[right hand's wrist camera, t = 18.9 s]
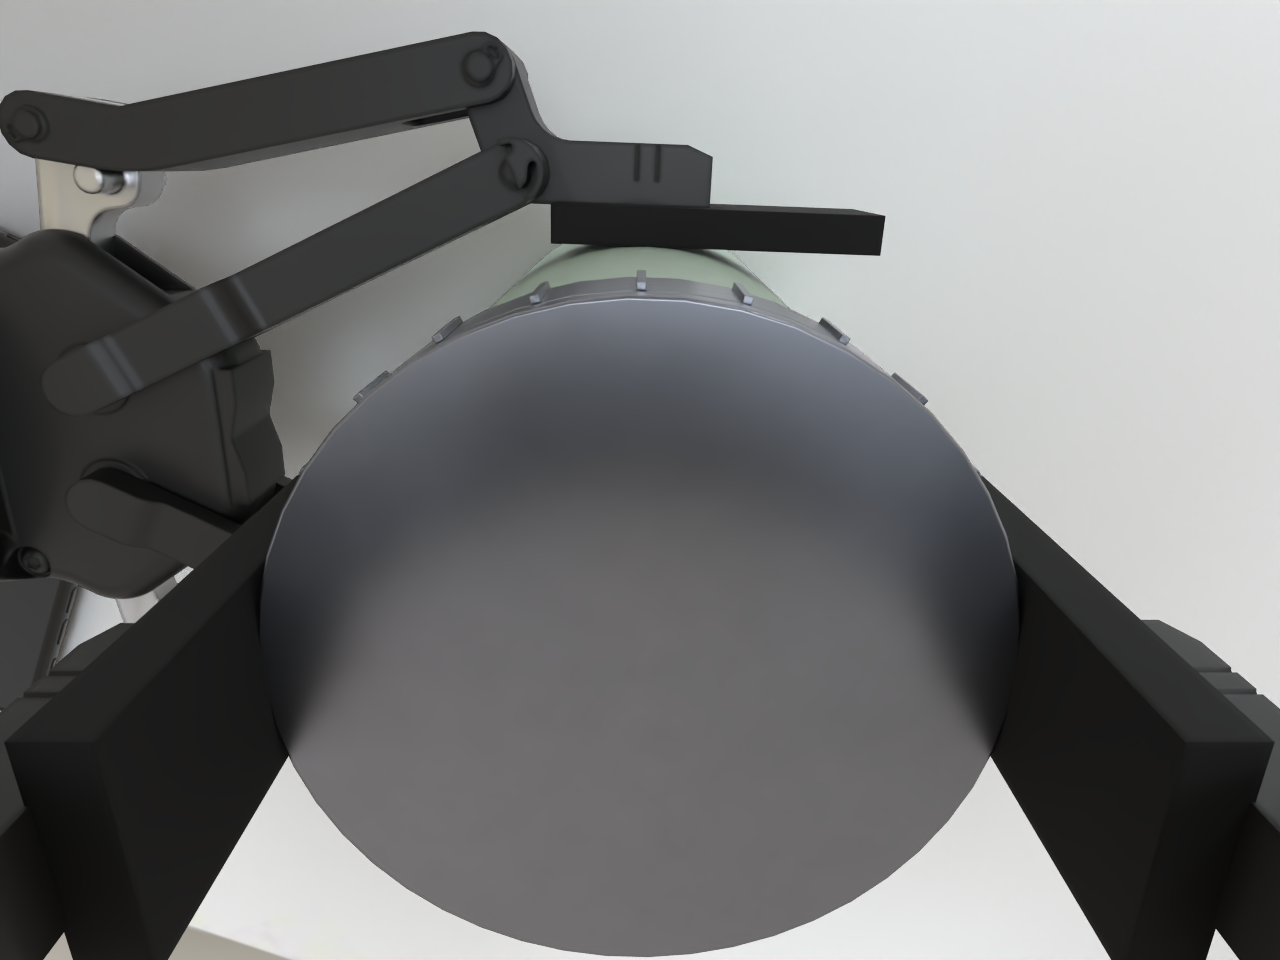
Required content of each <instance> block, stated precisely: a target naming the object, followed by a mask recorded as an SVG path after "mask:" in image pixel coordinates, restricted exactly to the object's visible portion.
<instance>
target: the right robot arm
mask: <svg viewBox="0 0 1280 960" xmlns="http://www.w3.org/2000/svg"><path fill="white" fill-rule="evenodd" d="M299 476H300V475H297V476H296V477H295V478H294V479H293V480H292V481H291V482H289V483H288V484H287V485H286V486H285V487H284V488H283V489H282V490H281V491H280V492H278V493H277V494H276V495H275V496H274V497H273V498H272V499H271V500H270V501H269V502H267V503H266V504H265V505H264V506H263V507H262V508H261V509H260V510H259V511H258V512H256V513H255V514H254V515H253V516H252V517H251V518H250V519H249V520H248V521H247V522H245V523H244V524H243V525H242V526H241V527H240V528H239V529H238V530H237V531H236V532H234V533H233V534H232V535H231V536H230V537H229V538H228V539H227V540H226V541H225V542H223V543H222V544H221V545H220V546H219V547H218V548H217V549H216V550H215V551H214V552H212V553H211V554H210V555H209V556H208V557H207V558H206V559H205V560H204V561H203V562H201V563H200V564H199V565H198V566H197V567H196V568H195V569H194V570H193V571H192V572H190V573H189V574H188V575H187V576H186V577H185V578H184V579H183V580H182V581H181V582H179V583H178V584H177V585H176V586H175V587H174V588H173V589H172V590H171V591H170V592H168V593H167V594H166V595H165V596H164V597H163V598H162V599H161V600H160V601H159V602H157V603H156V604H155V605H154V606H153V607H152V608H151V609H150V610H149V611H148V612H146V613H145V614H144V615H143V616H142V617H141V618H140V619H139V620H138V621H137V622H135V623H120V624H118V625H116V626H114V627H112V628H110V629H108V630H106V631H105V632H103V633H101V634H99V635H97V636H95V637H93V638H91V639H89V640H87V641H85V642H83V643H82V644H80V645H78V646H77V647H76V648H75V649H73V650H72V651H71V652H70V653H69V654H68V655H66V656H65V657H64V658H63V659H62V660H61V661H59V662H58V663H57V664H56V665H55V666H54V667H52V668H51V669H50V670H49V674H48V676H42V677H41V678H40V679H38V680H37V681H36V682H35V683H34V684H33V685H31V686H30V687H29V688H28V689H27V690H26V691H24V692H23V693H24V695H23V698H16V699H15V700H14V701H13V702H12V703H10V704H9V705H8V706H7V707H6V708H5V709H3V710H2V711H1V712H0V960H43V959H44V958H45V957H46V955H47V954H48V953H49V951H50V950H51V949H52V947H53V946H54V945H55V943H56V942H57V941H58V939H59V938H60V937H61V935H62V934H63V933H65V936H66V939H67V942H68V945H69V949H70V952H71V955H72V958H73V960H168V958H169V957H170V955H171V953H172V952H173V950H174V948H175V947H176V945H177V943H178V942H179V940H180V938H181V937H182V935H183V933H184V931H185V930H186V928H187V926H188V925H189V923H190V921H191V920H192V918H193V916H194V915H195V913H196V911H197V910H198V908H199V906H200V904H201V903H202V901H203V899H204V898H205V896H206V894H207V893H208V891H209V889H210V888H211V886H212V884H213V883H214V881H215V879H216V877H217V876H218V874H219V872H220V871H221V869H222V867H223V866H224V864H225V862H226V861H227V859H228V857H229V856H230V854H231V852H232V850H233V849H234V847H235V845H236V844H237V842H238V840H239V839H240V837H241V835H242V834H243V832H244V830H245V829H246V827H247V825H248V823H249V822H250V820H251V818H252V817H253V815H254V813H255V812H256V810H257V808H258V807H259V805H260V803H261V802H262V800H263V798H264V796H265V795H266V793H267V791H268V790H269V788H270V786H271V785H272V783H273V781H274V780H275V778H276V776H277V775H278V773H279V771H280V769H281V768H282V766H283V764H284V763H285V761H286V759H287V758H288V756H289V755H288V753H287V751H286V749H285V746H284V744H283V742H282V740H281V737H280V735H279V733H278V731H277V729H276V726H275V722H274V719H273V714H272V709H271V704H270V699H269V694H268V689H267V683H266V677H265V672H264V666H263V661H262V655H261V649H260V643H259V596H260V591H261V585H262V579H263V573H264V567H265V561H266V556H267V552H268V549H269V546H270V543H271V540H272V537H273V534H274V531H275V528H276V525H277V523H278V520H279V517H280V514H281V511H282V509H283V507H284V505H285V503H286V501H287V499H288V497H289V495H290V493H291V492H292V490H293V488H294V486H295V484H296V482H297V480H298V478H299ZM981 476H982V475H981ZM980 479H981V480H982V482H983V484H984V485H985V487H986V489H987V490H988V492H989V494H990V496H991V499H992V501H993V503H994V506H995V508H996V511H997V513H998V516H999V518H1000V520H1001V523H1002V525H1003V528H1004V530H1005V533H1006V535H1007V538H1008V543H1009V547H1010V551H1011V555H1012V559H1013V564H1014V568H1015V572H1016V576H1017V580H1018V592H1019V605H1020V618H1021V634H1020V641H1019V647H1018V653H1017V660H1016V665H1015V671H1014V676H1013V682H1012V687H1011V693H1010V698H1009V704H1008V709H1007V714H1006V718H1005V721H1004V724H1003V726H1002V729H1001V732H1000V734H999V737H998V739H997V742H996V745H995V747H994V750H993V752H992V754H991V755H990V756H991V758H992V759H993V761H994V763H995V764H996V766H997V768H998V769H999V771H1000V773H1001V774H1002V776H1003V778H1004V779H1005V781H1006V783H1007V785H1008V786H1009V788H1010V790H1011V791H1012V793H1013V795H1014V796H1015V798H1016V800H1017V801H1018V803H1019V805H1020V807H1021V808H1022V810H1023V812H1024V813H1025V815H1026V817H1027V818H1028V820H1029V822H1030V823H1031V825H1032V827H1033V828H1034V830H1035V832H1036V834H1037V835H1038V837H1039V839H1040V840H1041V842H1042V844H1043V845H1044V847H1045V849H1046V850H1047V852H1048V854H1049V855H1050V857H1051V859H1052V861H1053V862H1054V864H1055V866H1056V867H1057V869H1058V871H1059V872H1060V874H1061V876H1062V877H1063V879H1064V881H1065V882H1066V884H1067V886H1068V888H1069V889H1070V891H1071V893H1072V894H1073V896H1074V898H1075V899H1076V901H1077V903H1078V904H1079V906H1080V908H1081V909H1082V911H1083V913H1084V915H1085V916H1086V918H1087V920H1088V921H1089V923H1090V925H1091V926H1092V928H1093V930H1094V931H1095V933H1096V935H1097V936H1098V938H1099V940H1100V942H1101V943H1102V945H1103V947H1104V948H1105V950H1106V952H1107V953H1108V955H1109V957H1110V958H1111V960H1206V958H1207V954H1208V951H1209V948H1210V945H1211V942H1212V939H1213V936H1214V932H1215V929H1217V931H1218V932H1219V933H1220V935H1221V936H1222V937H1223V939H1224V940H1225V941H1226V943H1227V944H1228V945H1229V947H1230V948H1231V949H1232V951H1233V952H1234V953H1235V955H1236V956H1237V957H1238V958H1239V960H1280V709H1279V708H1278V707H1277V706H1276V705H1275V704H1273V703H1272V702H1271V701H1270V700H1269V699H1267V698H1266V697H1265V696H1264V695H1257V693H1256V688H1255V687H1253V686H1252V685H1251V684H1250V683H1249V682H1248V681H1246V680H1245V679H1244V678H1243V677H1242V676H1240V675H1239V674H1238V673H1232V672H1231V667H1230V666H1229V665H1228V664H1226V663H1225V662H1224V661H1223V660H1222V659H1220V658H1219V657H1218V656H1217V655H1216V654H1215V653H1213V652H1212V651H1211V650H1210V649H1209V648H1208V647H1206V646H1205V645H1204V644H1203V643H1202V642H1200V641H1198V640H1196V639H1194V638H1193V637H1191V636H1189V635H1187V634H1185V633H1183V632H1181V631H1179V630H1177V629H1175V628H1173V627H1171V626H1169V625H1167V624H1165V623H1164V622H1162V621H1160V620H1140V619H1139V618H1138V617H1137V616H1136V615H1135V614H1134V613H1133V612H1131V611H1130V610H1129V609H1128V608H1127V607H1126V606H1125V605H1124V604H1123V603H1122V602H1120V601H1119V600H1118V599H1117V598H1116V597H1115V596H1114V595H1113V594H1112V593H1111V592H1109V591H1108V590H1107V589H1106V588H1105V587H1104V586H1103V585H1102V584H1101V583H1100V582H1098V581H1097V580H1096V579H1095V578H1094V577H1093V576H1092V575H1091V574H1090V573H1089V572H1087V571H1086V570H1085V569H1084V568H1083V567H1082V566H1081V565H1080V564H1079V563H1078V562H1076V561H1075V560H1074V559H1073V558H1072V557H1071V556H1070V555H1069V554H1068V553H1067V552H1065V551H1064V550H1063V549H1062V548H1061V547H1060V546H1059V545H1058V544H1057V543H1056V542H1054V541H1053V540H1052V539H1051V538H1050V537H1049V536H1048V535H1047V534H1046V533H1045V532H1043V531H1042V530H1041V529H1040V528H1039V527H1038V526H1037V525H1036V524H1035V523H1034V522H1032V521H1031V520H1030V519H1029V518H1028V517H1027V516H1026V515H1025V514H1024V513H1023V512H1021V511H1020V510H1019V509H1018V508H1017V507H1016V506H1015V505H1014V504H1013V503H1012V502H1010V501H1009V500H1008V499H1007V498H1006V497H1005V496H1004V495H1003V494H1002V493H1001V492H999V491H998V490H997V489H996V488H995V487H994V486H993V485H992V484H991V483H990V482H989V481H987V480H986V479H985V478H984V477H983V476H982V477H981V478H980Z"/></svg>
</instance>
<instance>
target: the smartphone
mask: <svg viewBox="0 0 1280 960" xmlns="http://www.w3.org/2000/svg"><path fill="white" fill-rule="evenodd" d="M19 240H20V238H17V237H15V236H13V235H11V234H8V233H6V232H4V231H2V230H0V248H5V247H8V246H10V245H12V244H14V243H16V242H17V241H19ZM77 590H78V585H76V584H74V583H71V582H68V581H65V580H60V579H56V578H35V579H24V580H15V581H5V582H0V711H2V710H3V709H5V708H6V707H7V706H8V705H9V704H10V703H12V702H13V701H14V700H15V699H16V698H23V695H24V693H23V692H24V691H26V690H27V689H28V688H29V687H30V686H31V685H33V684H34V683H35V682H36V681H37V680H38V679H40V678H41V677H42V676H48V674H49V670H50V669H51V668H52V667H54V666H55V664H56V660H57V657H58V653H59V650H60V646H61V643H62V641H63V638H64V635H65V631H66V628H67V624H68V621H69V620H68V618H69V615H70V611H71V610H72V607H73V603H74V600H75V597H76V593H77Z"/></svg>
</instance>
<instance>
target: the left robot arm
mask: <svg viewBox="0 0 1280 960" xmlns="http://www.w3.org/2000/svg"><path fill="white" fill-rule="evenodd" d="M465 118H469V119H470V122H471V124H472V127H473V130H474V133H475V135H476V138H477V141H478V144H479V146H480V149H481V152H479V153H477V154H475V155H473V156H471V157H469V158H467V159H465V160H463V161H461V162H459V163H457V164H455V165H453V166H451V167H449V168H447V169H445V170H443V171H441V172H439V173H437V174H435V175H433V176H431V177H429V178H427V179H425V180H423V181H421V182H419V183H417V184H415V185H413V186H411V187H409V188H407V189H405V190H403V191H401V192H399V193H397V194H395V195H393V196H391V197H389V198H387V199H385V200H383V201H381V202H379V203H377V204H375V205H373V206H371V207H369V208H367V209H365V210H363V211H361V212H359V213H357V214H355V215H353V216H351V217H349V218H347V219H345V220H343V221H341V222H339V223H337V224H334V225H332V226H330V227H328V228H326V229H324V230H322V231H320V232H318V233H316V234H314V235H312V236H310V237H308V238H306V239H304V240H302V241H300V242H298V243H296V244H294V245H292V246H290V247H288V248H286V249H284V250H282V251H280V252H278V253H276V254H274V255H272V256H270V257H268V258H266V259H264V260H262V261H260V262H258V263H256V264H254V265H252V266H250V267H248V268H246V269H244V270H242V271H240V272H238V273H236V274H234V275H232V276H230V277H227V278H225V279H222V280H220V281H217V282H215V283H212V284H210V285H208V286H206V287H203V288H201V289H199V290H196V289H195V288H193V287H192V286H190V285H189V284H188V283H186V282H185V281H183V280H182V279H180V278H179V277H177V276H176V275H175V274H173V273H172V272H170V271H169V270H167V269H166V268H164V267H163V266H162V265H160V264H159V263H157V262H156V261H154V260H153V259H152V258H150V257H149V256H147V255H146V254H144V253H143V252H141V251H140V250H139V249H137V248H136V247H134V246H133V245H131V244H130V243H129V242H127V241H126V240H124V239H123V238H121V237H120V236H118V235H116V234H115V224H116V222H117V219H118V217H119V216H120V215H121V214H122V213H123V212H124V211H125V210H127V209H129V208H132V207H141V206H148V205H150V204H152V203H154V202H155V201H156V200H157V199H158V198H159V197H160V195H161V192H162V190H163V187H164V186H165V184H166V175H165V172H164V171H204V170H212V169H219V168H226V167H231V166H236V165H240V164H245V163H250V162H255V161H260V160H265V159H270V158H275V157H280V156H284V155H289V154H294V153H299V152H304V151H309V150H314V149H319V148H324V147H328V146H333V145H338V144H343V143H348V142H353V141H358V140H363V139H368V138H372V137H377V136H382V135H387V134H392V133H397V132H402V131H407V130H412V129H416V128H421V127H426V126H431V125H436V124H441V123H446V122H451V121H456V120H461V119H465ZM0 129H1V133H2V134H3V136H4V137H5V139H6V140H7V142H8V143H9V145H11V146H12V147H13V148H14V149H16V150H17V151H18V152H19V153H21V154H23V155H26V156H29V157H32V158H35V160H36V173H37V186H38V199H39V212H40V225H41V230H40V231H37V232H33V233H31V234H29V235H27V236H25V237H23V238H22V239H20V240H19V241H17V242H16V243H14V244H12V245H10V246H8V247H5V248H0V582H5V581H15V580H24V579H35V578H56V579H60V580H65V581H68V582H71V583H74V584H76V585H79V586H81V587H83V588H85V589H87V590H89V591H91V592H94V593H96V594H98V595H101V596H104V597H108V598H113V599H116V602H117V605H118V608H119V611H120V613H121V616H122V619H123V622H124V623H135V622H137V621H138V620H139V619H140V618H141V617H142V616H143V615H144V614H145V613H146V612H148V611H149V610H150V609H151V608H152V607H153V606H154V605H155V604H156V603H157V602H159V601H160V600H161V599H162V598H163V597H164V596H165V595H166V594H167V593H168V592H170V591H171V590H172V589H173V588H174V587H175V586H176V585H177V584H178V583H177V582H176V580H175V578H174V575H176V574H177V573H179V572H180V571H182V570H183V569H185V568H186V567H187V566H189V567H191V568H193V569H195V568H196V567H197V566H198V565H199V564H200V563H201V562H203V561H204V560H205V559H206V558H207V557H208V556H209V555H210V554H211V553H212V552H214V551H215V550H216V549H217V548H218V547H219V546H220V545H221V544H222V543H223V542H225V541H226V540H227V539H228V538H229V537H230V536H231V535H232V534H233V533H234V532H236V531H237V530H238V529H239V528H240V527H241V526H242V525H243V524H244V523H245V522H247V521H248V520H249V519H250V518H251V517H252V516H253V515H254V514H255V513H256V512H258V511H259V510H260V509H261V508H262V507H263V506H264V505H265V504H266V503H267V502H269V501H270V500H271V499H272V498H273V497H274V496H275V495H276V494H277V493H278V492H280V491H281V490H282V489H283V488H284V487H285V486H286V485H287V484H288V483H289V482H291V481H292V480H291V479H289V478H287V477H285V476H284V475H285V470H284V461H283V453H282V445H281V443H280V440H279V438H278V435H277V432H276V430H275V427H274V425H273V422H272V420H271V417H270V413H269V412H270V405H271V399H272V392H273V386H274V376H273V368H272V359H271V351H270V350H260V347H259V345H258V343H257V341H256V340H255V338H254V337H256V336H258V335H260V334H262V333H264V332H267V331H269V330H271V329H273V328H275V327H277V326H279V325H281V324H283V323H285V322H287V321H289V320H291V319H293V318H295V317H298V316H300V315H302V314H304V313H305V312H307V311H309V310H311V309H313V308H315V307H317V306H320V305H322V304H324V303H326V302H328V301H330V300H332V299H334V298H336V297H338V296H340V295H342V294H344V293H346V292H348V291H351V290H353V289H355V288H357V287H359V286H361V285H363V284H365V283H367V282H369V281H371V280H373V279H375V278H377V277H379V276H382V275H384V274H386V273H388V272H390V271H392V270H394V269H396V268H398V267H400V266H402V265H404V264H406V263H408V262H410V261H413V260H415V259H417V258H419V257H421V256H423V255H425V254H427V253H429V252H431V251H433V250H435V249H437V248H439V247H441V246H444V245H446V244H448V243H450V242H452V241H454V240H456V239H458V238H460V237H462V236H464V235H466V234H468V233H470V232H472V231H475V230H477V229H479V228H481V227H483V226H485V225H487V224H489V223H491V222H493V221H495V220H497V219H499V218H501V217H503V216H506V215H508V214H510V213H512V212H514V211H516V210H518V209H520V208H522V207H524V206H526V205H528V204H530V203H534V204H551V244H578V245H605V246H632V247H659V248H686V249H713V250H740V251H767V252H794V253H821V254H848V255H875V256H880V253H881V245H882V238H883V230H884V223H885V216H883V215H878V214H873V213H868V212H863V211H859V210H854V209H833V208H806V207H780V206H753V205H727V204H710V192H711V176H712V159H713V157H712V156H709V155H707V154H705V153H703V152H701V151H699V150H697V149H695V148H693V147H691V146H689V145H671V144H645V143H619V142H593V141H569V140H563V139H561V138H558V137H557V136H555V135H554V134H553V133H552V132H550V131H549V129H548V128H547V127H546V126H545V124H544V123H543V121H542V119H541V117H540V114H539V112H538V109H537V106H536V103H535V100H534V97H533V94H532V91H531V88H530V85H529V82H528V73H527V71H526V68H525V66H524V63H523V62H522V61H521V60H520V59H519V57H518V56H517V55H516V54H515V53H514V52H513V51H512V50H511V49H509V48H508V47H507V46H506V45H505V44H504V43H503V42H501V41H500V40H499V39H498V38H497V37H495V36H493V35H490V34H488V33H486V32H468V33H464V34H459V35H454V36H449V37H445V38H440V39H435V40H430V41H426V42H421V43H416V44H411V45H407V46H402V47H397V48H393V49H388V50H383V51H378V52H374V53H369V54H364V55H359V56H355V57H350V58H345V59H340V60H336V61H331V62H326V63H321V64H317V65H312V66H307V67H303V68H298V69H293V70H288V71H284V72H279V73H274V74H269V75H265V76H260V77H255V78H250V79H246V80H241V81H236V82H232V83H227V84H222V85H217V86H213V87H208V88H203V89H198V90H194V91H189V92H184V93H179V94H175V95H170V96H165V97H160V98H156V99H151V100H146V101H142V102H137V103H132V104H126V103H120V102H114V101H109V100H103V99H95V98H86V97H78V96H70V95H62V94H54V93H46V92H38V91H29V90H21V91H14V92H12V93H10V94H8V95H7V96H5V97H4V99H3V101H2V102H1V104H0Z"/></svg>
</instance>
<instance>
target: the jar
mask: <svg viewBox="0 0 1280 960" xmlns="http://www.w3.org/2000/svg"><path fill="white" fill-rule="evenodd" d="M637 270H646V277H649V278H674V279H684V280H690V281H695V282H701V283H707V284H713V285H718V286H724V287H729V288H732V287H733V283H734V282H737V283H740V284H742V285H743V286H744V287H745V288H746V289H747V291H748V292H749V293H750V294H751V295H754V296H757V297H761V298H764V299H767V300H770V301H773V302H776V303H778V304H780V305H782V306H784V307H786V308H789V307H788V306H787V305H786V304H785V303H784V302H783V301H781V300H780V299H779V298H778V297H777V296H776V295H775V294H774V293H773V292H772V291H771V290H770V289H769V288H768V287H767V286H766V285H765V284H764V283H763V282H762V281H761V280H760V279H758V278H757V277H756V276H755V275H754V274H753V273H752V272H751V271H750V270H749V269H748V268H747V267H746V266H745V265H744V264H743V263H742V262H741V261H740V260H739V259H738V258H736V257H735V256H734V255H733V254H731V253H730V252H729V251H727V250H713V249H686V248H659V247H632V246H605V245H578V244H561V245H559V246H558V247H556V248H555V249H553V250H552V251H551V252H549V253H548V254H547V255H546V256H545V257H544V258H543V259H541V260H540V261H539V262H538V263H537V264H536V265H535V266H534V267H533V268H532V269H530V270H529V271H528V272H527V273H526V274H525V275H524V276H523V277H522V278H521V279H520V280H519V281H518V282H517V283H516V284H515V285H514V286H513V287H512V288H510V289H509V290H508V291H507V292H506V293H505V294H504V295H503V296H502V297H501V298H500V299H499V300H498V301H497V302H496V303H495V304H494V305H493V306H492V307H495V306H497V305H500V304H503V303H505V302H508V301H510V300H513V299H516V298H518V297H521V296H524V295H526V294H529V293H532V292H533V291H534V290H535V289H536V288H537V286H538V285H539V284H540V283H543V282H546V281H548V282H549V285H550V288H553V287H558V286H562V285H566V284H570V283H575V282H579V281H589V280H600V279H610V278H621V277H637ZM492 307H490V308H492ZM789 309H790V308H789Z"/></svg>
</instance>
